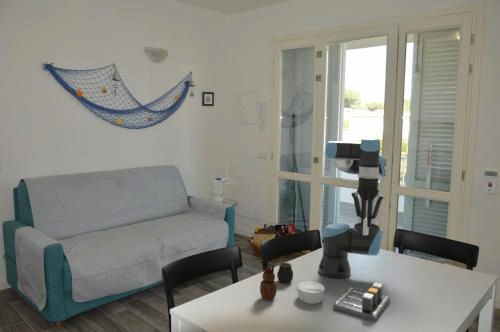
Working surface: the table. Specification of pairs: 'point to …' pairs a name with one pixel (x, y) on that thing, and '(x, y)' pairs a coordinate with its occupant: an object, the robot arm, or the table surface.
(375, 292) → the block
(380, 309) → the panel
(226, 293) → the table surface
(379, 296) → the block
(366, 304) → the breaker near
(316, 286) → the ramekin
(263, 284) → the wooden figurine
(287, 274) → the mate gourd
